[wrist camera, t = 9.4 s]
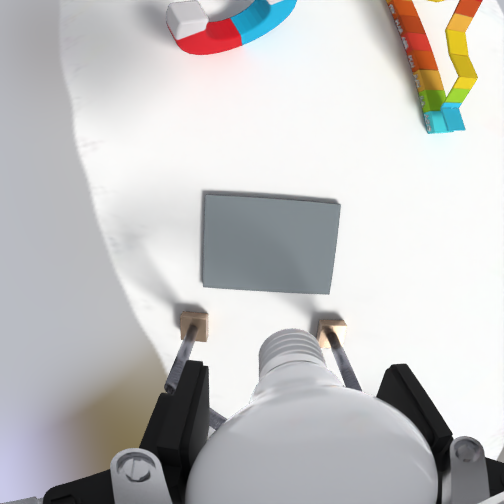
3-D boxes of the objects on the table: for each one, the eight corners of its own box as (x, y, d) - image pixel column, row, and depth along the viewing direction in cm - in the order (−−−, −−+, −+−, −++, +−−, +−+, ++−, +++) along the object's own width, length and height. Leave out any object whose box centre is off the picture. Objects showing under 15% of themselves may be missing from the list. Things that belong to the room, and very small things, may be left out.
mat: (328, 292, 34) (329, 294, 33) (204, 285, 34) (203, 287, 33) (339, 204, 31) (340, 204, 31) (206, 194, 31) (205, 195, 31)
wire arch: (339, 341, 35) (381, 440, 19) (183, 333, 35) (142, 432, 19) (343, 320, 35) (393, 415, 18) (182, 311, 35) (135, 407, 18)
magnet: (279, 11, 26) (286, -39, 16) (291, 28, 26) (302, -19, 16) (183, 50, 27) (156, 9, 17) (192, 68, 28) (167, 30, 18)
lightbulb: (247, 259, 12) (218, 576, 1) (380, 308, 13) (523, 510, 2) (200, 376, 14) (149, 596, 3) (317, 408, 14) (356, 601, 4)
